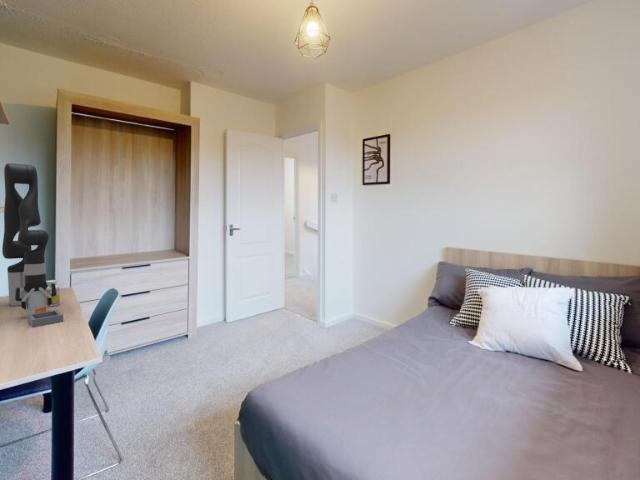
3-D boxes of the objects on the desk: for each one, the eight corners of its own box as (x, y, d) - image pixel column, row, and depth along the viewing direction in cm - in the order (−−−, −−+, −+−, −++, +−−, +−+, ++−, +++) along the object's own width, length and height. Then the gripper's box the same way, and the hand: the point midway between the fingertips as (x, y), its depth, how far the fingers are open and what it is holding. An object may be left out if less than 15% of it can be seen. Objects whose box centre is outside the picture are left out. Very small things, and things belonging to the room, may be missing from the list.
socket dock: (28, 321, 142) (27, 314, 142) (57, 316, 150) (57, 309, 150) (32, 327, 136) (32, 320, 136) (63, 321, 144) (63, 314, 143)
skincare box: (34, 317, 147) (32, 292, 146) (26, 317, 148) (25, 291, 147) (47, 313, 153) (46, 289, 152) (40, 313, 154) (39, 288, 153)
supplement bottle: (43, 304, 167) (42, 280, 166) (59, 302, 172) (58, 279, 171) (43, 307, 162) (42, 282, 161) (60, 305, 167) (59, 281, 166)
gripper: (53, 270, 157) (54, 302, 158) (13, 273, 146) (14, 308, 147) (56, 272, 152) (58, 305, 153) (15, 276, 141) (17, 312, 142)
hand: (36, 307), depth 150 cm, fingers open, 8 cm apart
